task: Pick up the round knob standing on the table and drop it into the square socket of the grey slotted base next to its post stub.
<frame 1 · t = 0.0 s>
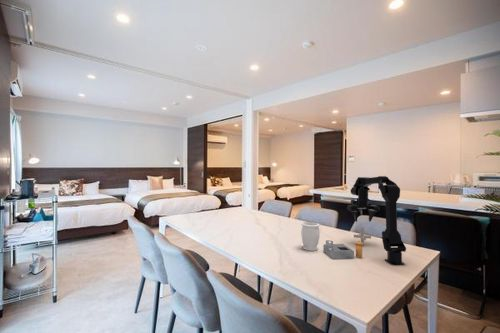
hand: (362, 221, 151), 15 cm above the table, fingers open, 9 cm apart
jar: (310, 249, 143), on the table
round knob: (359, 256, 130), on the table
grey slotted base: (338, 254, 133), on the table
pipe connector: (362, 244, 152), on the table
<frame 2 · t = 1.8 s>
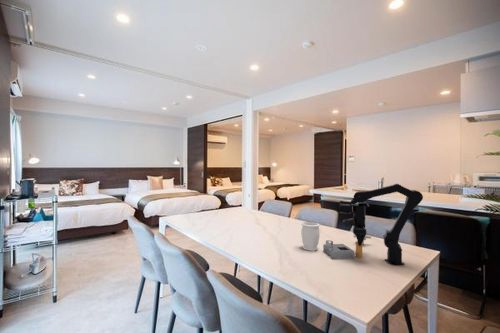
hand: (359, 243, 130), 8 cm above the table, fingers open, 9 cm apart
nothing on the table moved.
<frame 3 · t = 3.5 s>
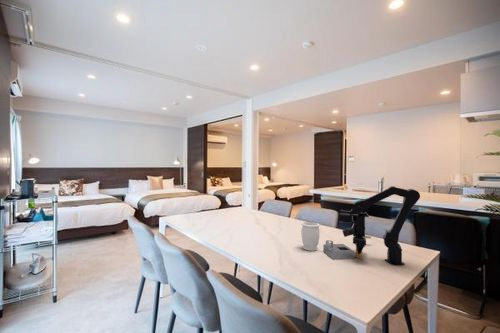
hand: (359, 252, 130), 2 cm above the table, fingers closed on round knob, 3 cm apart
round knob: (359, 256, 130), on the table, touching gripper
everything else where it was.
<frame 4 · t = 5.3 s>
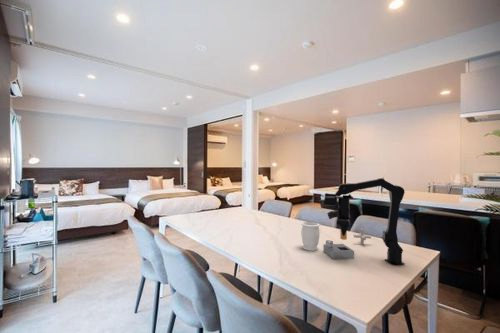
hand: (343, 234, 132), 12 cm above the table, fingers closed on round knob, 3 cm apart
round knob: (343, 238, 132), point 9 cm above the table, touching gripper
everything else where it was.
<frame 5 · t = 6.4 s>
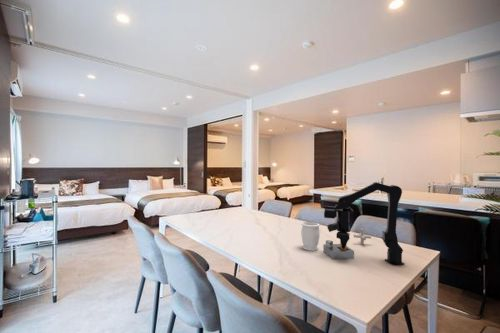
hand: (343, 247, 132), 5 cm above the table, fingers closed on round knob, 3 cm apart
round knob: (343, 251, 132), point 2 cm above the table, touching gripper
everything else where it was.
when the fingers open (4 cm above the table, at t = 7.0 s): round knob stays where it is, resting on grey slotted base.
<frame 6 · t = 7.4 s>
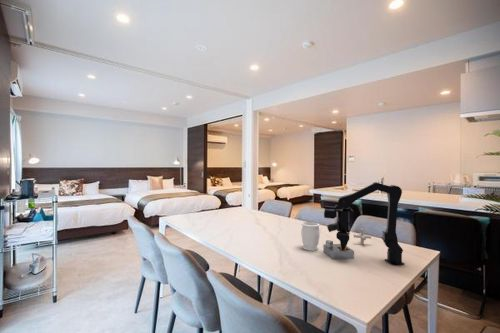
hand: (343, 247, 132), 4 cm above the table, fingers open, 8 cm apart
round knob: (343, 253, 132), point 2 cm above the table, touching grey slotted base
everything else where it was.
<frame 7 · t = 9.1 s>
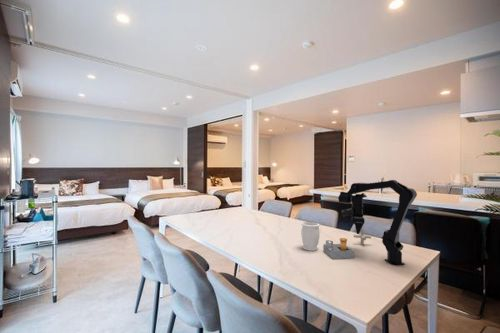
hand: (357, 231, 137), 12 cm above the table, fingers open, 9 cm apart
nothing on the table moved.
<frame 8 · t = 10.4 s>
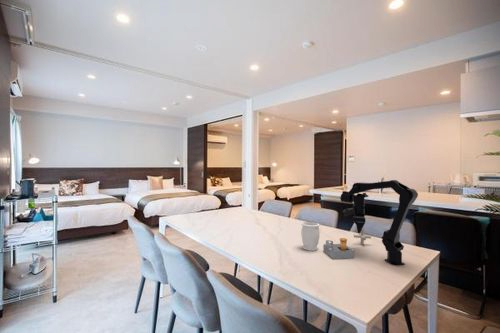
hand: (358, 231, 138), 12 cm above the table, fingers open, 9 cm apart
nothing on the table moved.
at the end: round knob 0.0 cm from the target spot on the grey slotted base, point 1.5 cm above the grey slotted base's base; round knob tilted 0°; the gripper is holding nothing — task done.
